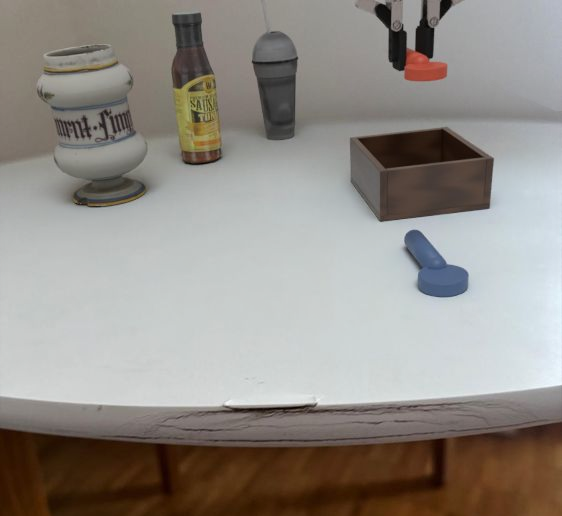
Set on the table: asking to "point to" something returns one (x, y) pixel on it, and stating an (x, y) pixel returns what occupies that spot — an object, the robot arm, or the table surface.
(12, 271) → the table surface
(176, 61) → the sauce bottle
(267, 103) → the beverage cup
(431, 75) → the red spoon
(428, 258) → the blue spoon
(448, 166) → the bin
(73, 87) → the apothecary jar
